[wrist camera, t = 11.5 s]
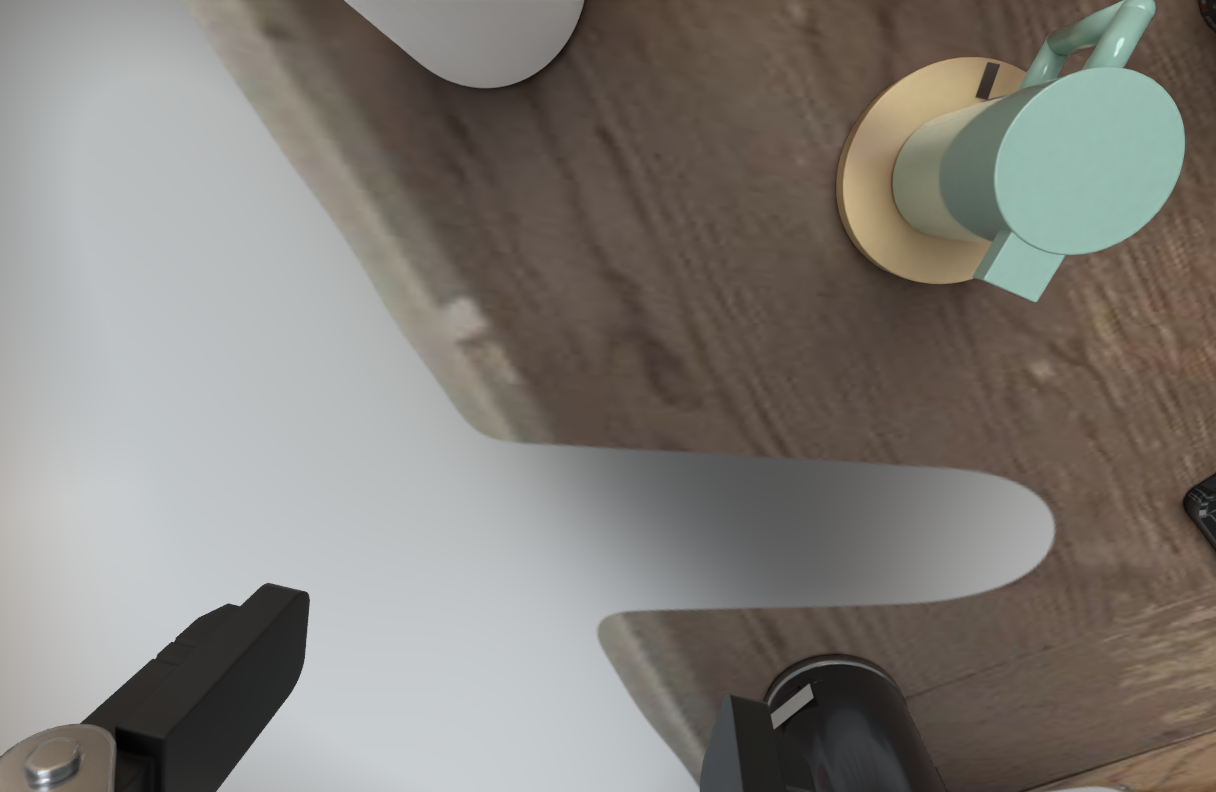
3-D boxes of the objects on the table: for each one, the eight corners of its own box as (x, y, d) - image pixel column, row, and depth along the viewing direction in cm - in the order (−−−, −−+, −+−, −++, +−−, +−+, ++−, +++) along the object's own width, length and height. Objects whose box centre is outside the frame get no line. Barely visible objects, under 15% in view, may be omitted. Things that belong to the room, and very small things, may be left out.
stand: (874, 41, 33) (884, 34, 32) (1088, 88, 33) (1108, 82, 32) (809, 256, 37) (816, 259, 35) (1004, 300, 36) (1018, 304, 35)
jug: (959, 287, 35) (1086, 325, 24) (853, 241, 35) (935, 259, 24) (1083, 73, 32) (1292, 10, 21) (967, 20, 31) (1118, -70, 21)
